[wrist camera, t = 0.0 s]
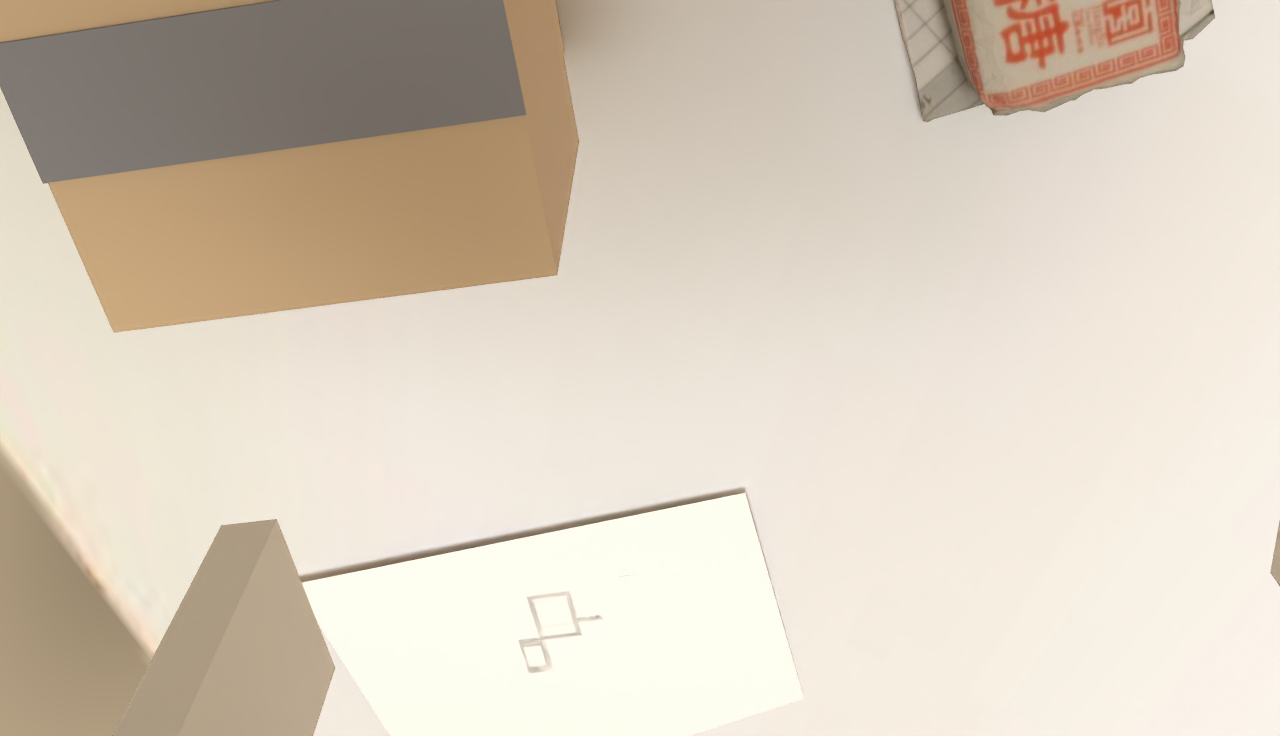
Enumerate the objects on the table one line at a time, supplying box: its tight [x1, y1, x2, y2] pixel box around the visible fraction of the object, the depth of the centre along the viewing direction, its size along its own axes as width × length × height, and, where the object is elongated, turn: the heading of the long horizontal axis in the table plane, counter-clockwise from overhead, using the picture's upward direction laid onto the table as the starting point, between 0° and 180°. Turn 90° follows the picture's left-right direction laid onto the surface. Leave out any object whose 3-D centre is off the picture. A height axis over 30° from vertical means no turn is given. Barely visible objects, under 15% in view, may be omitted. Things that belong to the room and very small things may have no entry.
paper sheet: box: [302, 493, 804, 736], centre depth 57 cm, size 24×29×1 cm
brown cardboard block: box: [0, 0, 579, 332], centre depth 27 cm, size 11×11×9 cm
